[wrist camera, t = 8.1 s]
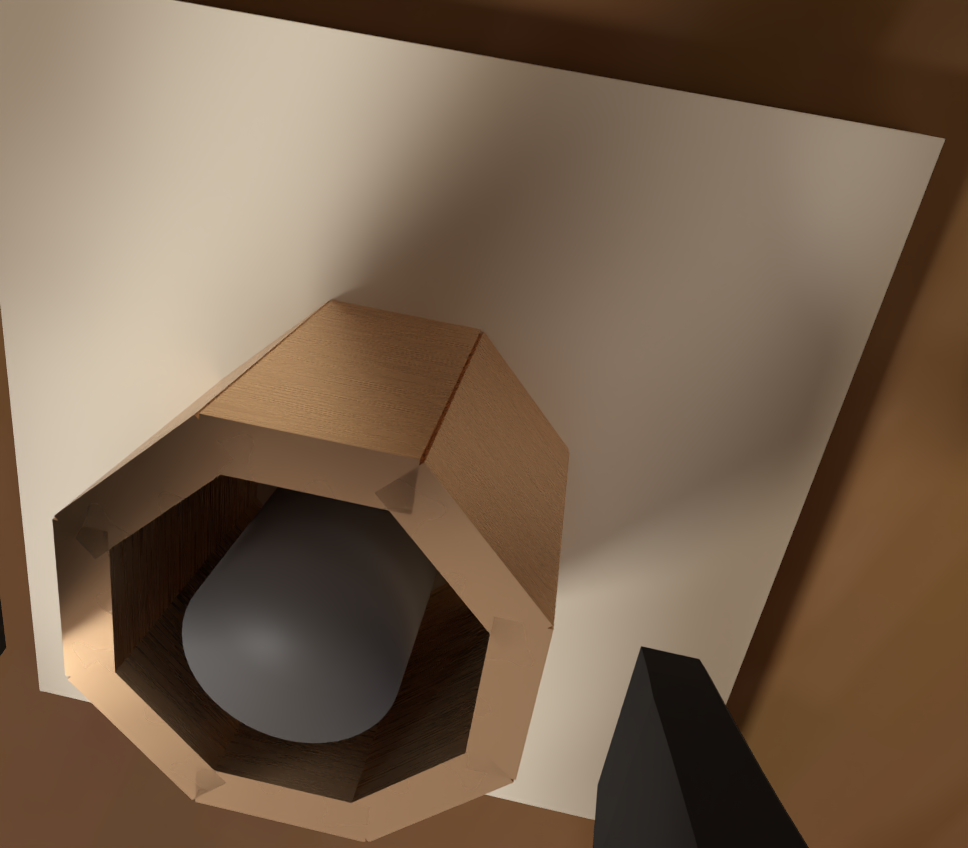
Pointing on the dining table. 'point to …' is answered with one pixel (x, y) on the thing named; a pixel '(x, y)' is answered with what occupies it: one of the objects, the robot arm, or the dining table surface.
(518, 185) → the shaft base
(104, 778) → the dining table surface
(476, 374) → the wooden ring
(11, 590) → the dining table surface
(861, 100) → the dining table surface
